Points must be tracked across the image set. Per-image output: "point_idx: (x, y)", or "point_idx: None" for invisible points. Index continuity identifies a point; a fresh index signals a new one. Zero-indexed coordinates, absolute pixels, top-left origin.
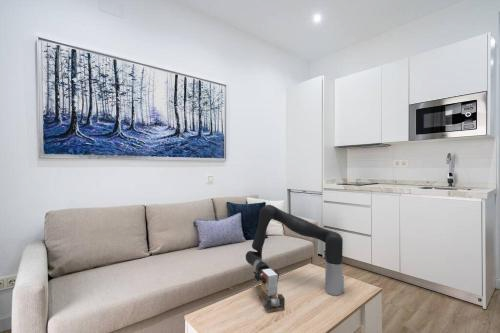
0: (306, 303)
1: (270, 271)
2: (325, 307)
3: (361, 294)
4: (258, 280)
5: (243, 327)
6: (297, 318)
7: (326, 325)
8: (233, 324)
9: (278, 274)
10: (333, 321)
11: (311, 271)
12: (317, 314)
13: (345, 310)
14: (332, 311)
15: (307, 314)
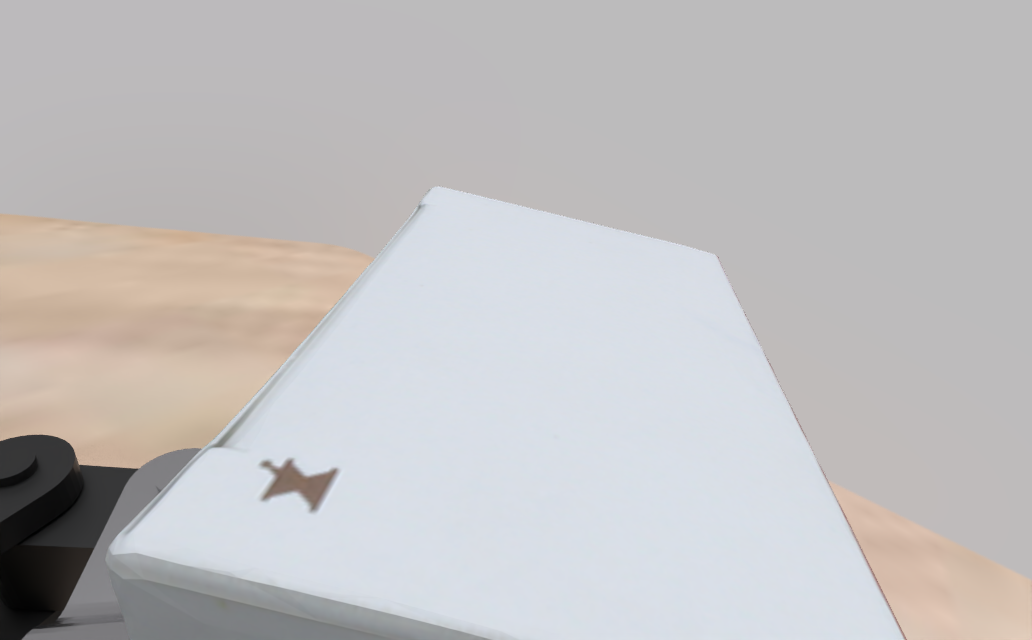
0: (93, 417)
1: (504, 323)
2: (68, 302)
3: None
4: None
5: (905, 527)
6: None
7: (326, 253)
8: (1022, 615)
9: (46, 445)
10: (250, 242)
11: None
12: (241, 305)
13: (29, 227)
14: (110, 265)
15: (302, 341)
